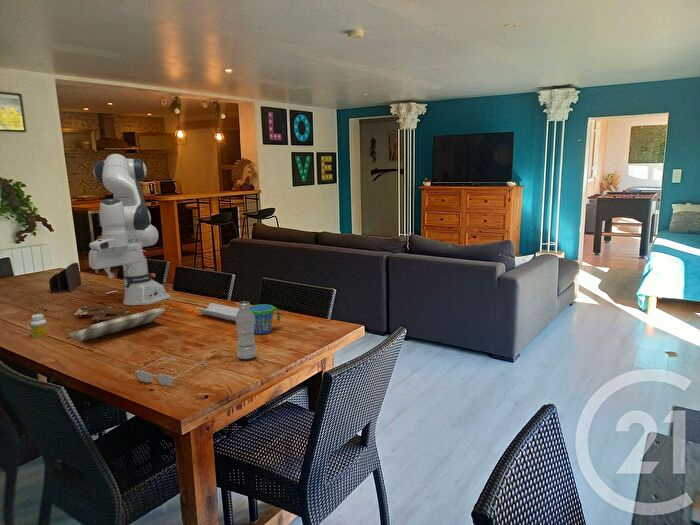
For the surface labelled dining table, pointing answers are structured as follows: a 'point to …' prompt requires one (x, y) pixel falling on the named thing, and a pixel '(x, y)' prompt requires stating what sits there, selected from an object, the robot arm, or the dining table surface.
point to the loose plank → (121, 323)
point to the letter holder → (66, 280)
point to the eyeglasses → (161, 378)
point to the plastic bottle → (245, 331)
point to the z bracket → (220, 311)
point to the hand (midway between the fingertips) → (119, 276)
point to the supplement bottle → (39, 326)
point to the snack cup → (263, 317)
